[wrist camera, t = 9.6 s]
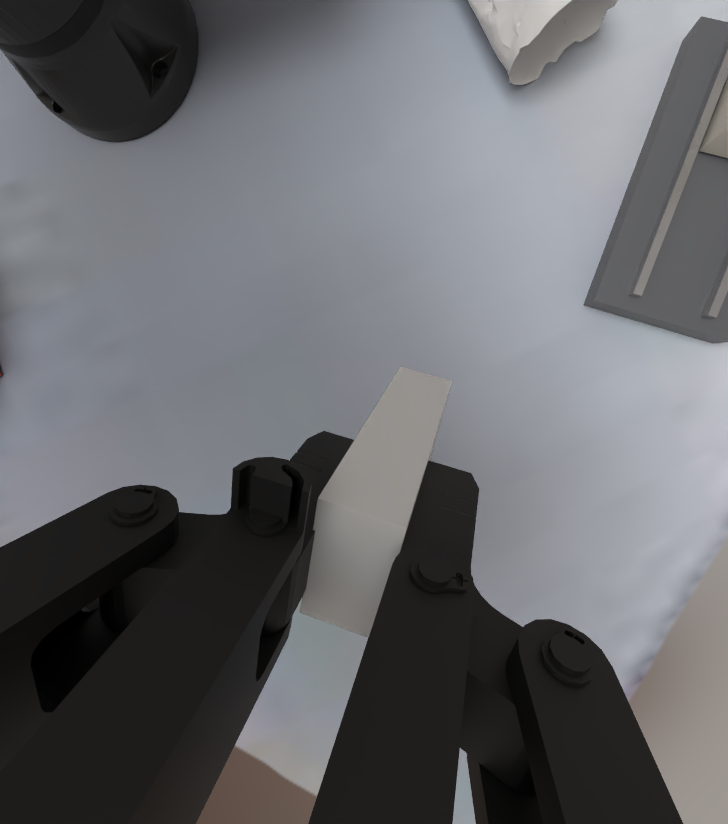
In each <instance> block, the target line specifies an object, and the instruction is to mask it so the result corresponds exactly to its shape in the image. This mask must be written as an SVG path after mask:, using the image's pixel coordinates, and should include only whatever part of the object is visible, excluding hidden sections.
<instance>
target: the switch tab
mask: <svg viewBox="0 0 728 824" xmlns="http://www.w3.org/2000/svg"><path fill="white" fill-rule="evenodd" d="M699 151H701V152H705V153H709V154H713V155H717V156H721V157H725V158H728V79H727V81H726V84H725V86H724V89H723V92H722V94H721V97H720V99H719V102H718V104H717V107H716V109H715V112H714V115H713V117H712V120H711V122H710V125H709V127H708V130H707V133H706V135H705V138H704V140H703V143H702V145H701V148H700V150H699Z"/></svg>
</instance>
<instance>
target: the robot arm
mask: <svg viewBox="0 0 728 824" xmlns="http://www.w3.org/2000/svg"><path fill="white" fill-rule="evenodd" d="M0 49H1V51H2V52H3V53H4V54H5V56H6V57H7V58H8V60H9V61H10V62H11V64H12V65H13V66H14V67H15V69H16V70H17V71H18V73H19V74H20V75H21V76H22V78H23V79H24V80H25V82H26V83H27V84H28V86H29V87H30V88H31V89H32V91H33V92H34V93H35V95H36V96H37V97H38V98H39V100H40V101H41V102H42V103H43V104H44V105H45V106H46V107H47V108H48V109H49V110H50V111H51V112H52V113H53V114H55V115H56V116H57V117H58V118H60V119H61V120H63V121H64V122H66V123H67V124H69V125H70V126H72V127H73V128H75V129H76V130H78V131H79V132H81V133H83V134H85V135H87V136H90V137H92V138H95V139H99V140H104V141H125V140H131V139H134V138H137V137H140V136H143V135H145V134H147V133H149V132H151V131H152V130H154V129H155V128H157V127H158V126H160V125H161V124H162V123H163V122H165V121H166V120H167V119H168V118H169V117H170V116H171V115H172V114H173V112H174V111H175V110H176V109H177V107H178V106H179V105H180V103H181V102H182V100H183V98H184V97H185V95H186V93H187V91H188V88H189V86H190V84H191V81H192V78H193V75H194V71H195V67H196V61H197V53H198V35H197V27H196V22H195V18H194V14H193V11H192V8H191V6H190V3H189V1H188V0H0ZM451 384H452V380H449V379H445V378H441V377H437V376H434V375H430V374H426V373H422V372H419V371H415V370H411V369H407V368H404V367H400V368H399V370H398V371H397V373H396V375H395V376H394V378H393V379H392V381H391V383H390V384H389V386H388V387H387V389H386V391H385V392H384V394H383V395H382V397H381V399H380V400H379V402H378V403H377V405H376V406H375V408H374V410H373V411H372V413H371V414H370V416H369V418H368V419H367V421H366V422H365V424H364V426H363V427H362V429H361V430H360V432H359V434H358V435H357V437H356V438H355V440H352V439H349V438H346V437H342V436H339V435H336V434H332V433H329V432H326V431H323V432H321V433H318V434H316V435H314V436H312V437H310V438H308V439H307V440H306V441H305V442H304V443H303V445H302V446H301V447H300V448H299V450H298V452H297V453H295V454H294V456H293V457H292V458H291V459H290V461H289V460H285V459H280V458H275V457H262V458H254V459H251V460H247V461H244V462H242V463H241V464H239V465H237V466H236V467H234V468H233V478H232V497H231V509H230V510H229V511H228V512H227V513H226V514H222V515H206V514H194V513H182V512H179V508H178V504H177V499H176V498H175V497H174V496H173V495H172V494H171V493H170V492H169V491H167V490H164V489H162V488H159V487H156V486H147V485H135V486H128V487H122V488H119V489H117V490H114V491H111V492H108V493H106V494H104V495H102V496H100V497H98V498H96V499H95V500H93V501H91V502H89V503H87V504H85V505H83V506H81V507H79V508H77V509H75V510H73V511H71V512H69V513H67V514H65V515H63V516H61V517H59V518H57V519H55V520H53V521H51V522H49V523H47V524H45V525H44V526H42V527H40V528H38V529H36V530H34V531H32V532H30V533H28V534H26V535H24V536H22V537H20V538H18V539H16V540H14V541H12V542H10V543H8V544H6V545H4V546H2V547H0V824H196V822H197V820H198V818H199V816H200V814H201V812H202V810H203V808H204V806H205V804H206V802H207V800H208V798H209V796H210V794H211V792H212V790H213V787H214V786H215V784H216V782H217V780H218V778H219V776H220V774H221V772H222V770H223V767H224V766H225V763H226V762H227V760H228V758H229V755H230V754H231V751H232V749H233V747H234V745H235V743H236V741H237V739H238V737H239V735H240V733H241V731H242V729H243V727H244V725H245V723H246V721H247V719H248V717H249V715H250V713H251V711H252V709H253V707H254V705H255V703H256V701H257V699H258V697H259V695H260V693H261V691H262V689H263V687H264V685H265V683H266V681H267V679H268V677H269V675H270V673H271V671H272V669H273V667H274V665H275V663H276V661H277V659H278V657H279V655H280V653H281V651H282V649H283V647H284V645H285V643H286V641H287V639H288V636H289V632H290V628H291V622H292V615H293V613H294V611H295V609H296V608H297V606H298V604H299V602H300V600H301V598H302V602H301V608H300V612H301V613H303V614H306V615H309V616H311V617H314V618H317V619H320V620H322V621H325V622H328V623H330V624H333V625H336V626H338V627H341V628H344V629H347V630H349V631H352V632H355V633H357V634H360V635H363V636H365V637H368V641H367V644H366V647H365V650H364V653H363V657H362V660H361V663H360V666H359V669H358V672H357V675H356V678H355V681H354V684H353V687H352V691H351V694H350V697H349V700H348V703H347V706H346V709H345V712H344V715H343V718H342V721H341V725H340V728H339V731H338V734H337V737H336V740H335V743H334V746H333V749H332V752H331V756H330V759H329V762H328V765H327V768H326V771H325V774H324V777H323V780H322V783H321V786H320V790H319V793H318V796H317V799H316V802H315V805H314V808H313V811H312V814H311V817H310V821H309V824H452V821H453V810H454V800H455V790H456V779H457V769H458V759H459V748H461V749H462V750H464V751H465V752H466V753H467V761H468V769H469V776H470V783H471V791H472V798H473V805H474V813H475V820H476V824H683V822H682V820H681V818H680V816H679V813H678V811H677V809H676V807H675V804H674V802H673V800H672V798H671V796H670V793H669V791H668V789H667V787H666V784H665V782H664V780H663V778H662V776H661V773H660V771H659V769H658V767H657V765H656V762H655V760H654V758H653V756H652V753H651V751H650V749H649V747H648V745H647V742H646V740H645V738H644V736H643V734H642V732H641V729H640V727H639V725H638V722H637V720H636V718H635V716H634V714H633V711H632V709H631V707H630V705H629V702H628V700H627V698H626V696H625V694H624V691H623V689H622V687H621V685H620V683H619V680H618V678H617V676H616V674H615V671H614V669H613V667H612V666H611V664H610V662H609V661H608V659H607V658H606V656H605V655H604V653H603V651H602V650H601V649H600V648H599V647H598V646H597V645H596V644H595V643H594V642H593V641H592V640H591V639H590V638H588V637H587V636H586V635H585V634H583V633H581V632H580V631H578V630H577V629H575V628H573V627H572V626H570V625H568V624H565V623H561V622H558V621H555V620H552V619H545V620H534V621H532V622H530V623H529V624H527V625H525V626H524V627H522V626H520V625H518V624H517V623H515V622H514V621H512V620H511V619H509V618H507V617H506V616H504V615H503V614H501V613H500V612H499V611H497V610H496V609H495V608H493V607H492V606H491V605H490V604H489V603H488V602H487V601H486V600H485V599H484V598H483V597H482V596H481V595H480V593H479V592H478V590H477V588H476V587H475V585H474V582H473V577H472V576H471V559H472V550H473V541H474V531H475V522H476V513H477V504H478V495H479V488H478V486H477V484H476V482H475V480H474V478H473V476H472V474H471V473H468V472H465V471H462V470H458V469H455V468H452V467H448V466H445V465H442V464H438V463H435V462H431V461H430V458H431V455H432V451H433V447H434V444H435V440H436V437H437V433H438V430H439V426H440V423H441V419H442V416H443V412H444V408H445V405H446V401H447V398H448V394H449V391H450V387H451Z"/></svg>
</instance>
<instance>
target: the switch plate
mask: <svg viewBox="0 0 728 824" xmlns="http://www.w3.org/2000/svg"><path fill="white" fill-rule="evenodd" d="M727 79H728V22H724V21H720V20H715V19H711V18H706V17H702V16H701V17H700V19H699V20H698V21H697V23H696V24H695V25H694V27H693V28H692V29H691V30H690V32H689V33H688V34H687V36H686V37H685V38H684V40H683V41H682V44H681V46H680V49H679V52H678V54H677V57H676V60H675V62H674V65H673V68H672V70H671V73H670V76H669V78H668V81H667V84H666V86H665V89H664V92H663V94H662V97H661V100H660V102H659V105H658V108H657V110H656V113H655V116H654V118H653V121H652V124H651V126H650V129H649V132H648V134H647V137H646V140H645V142H644V145H643V148H642V150H641V153H640V156H639V158H638V161H637V164H636V166H635V169H634V172H633V174H632V177H631V180H630V183H629V185H628V188H627V191H626V193H625V196H624V199H623V201H622V204H621V207H620V209H619V212H618V215H617V217H616V220H615V223H614V225H613V228H612V231H611V233H610V236H609V239H608V241H607V244H606V247H605V249H604V252H603V255H602V257H601V260H600V263H599V265H598V268H597V271H596V273H595V276H594V279H593V281H592V284H591V287H590V289H589V292H588V295H587V297H586V300H585V303H584V305H585V306H589V307H592V308H596V309H599V310H602V311H606V312H609V313H612V314H616V315H619V316H622V317H626V318H629V319H633V320H636V321H639V322H643V323H646V324H649V325H653V326H656V327H660V328H663V329H666V330H670V331H673V332H676V333H680V334H683V335H687V336H690V337H693V338H697V339H700V340H703V341H707V342H710V343H721V342H728V158H725V157H721V156H717V155H713V154H709V153H705V152H701V151H699V150H700V148H701V145H702V143H703V140H704V138H705V135H706V133H707V130H708V127H709V125H710V122H711V120H712V117H713V115H714V112H715V109H716V107H717V104H718V102H719V99H720V97H721V94H722V92H723V89H724V86H725V84H726V81H727Z"/></svg>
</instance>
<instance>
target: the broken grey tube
mask: <svg viewBox="0 0 728 824" xmlns="http://www.w3.org/2000/svg"><path fill="white" fill-rule="evenodd" d="M467 1H468V2H469V4H470V6H471V8H472V10H473V11H474V13H475V15H476V17H477V18H478V20H479V22H480V25H481V27H482V29H483V31H484V32H485V34H486V36H487V38H488V40H489V42H490V44H491V46H492V48H493V50H494V52H495V53H496V55H497V57H498V59H499V60H500V61H501V63H502V64H503V65H504V67H505V68H506V70H507V71H508V74H507V75H509V79H510V80H509V83H512V84H514V85H524V84H527V83H529V82H532V81H534V80H536V79H538V78H539V76H540V74H541V72H542V70H543V68H544V66H545V65H546V64H547V63H548V62H555V63H556V62H557V60H558V58H559V57H560V55H561V54H562V52H563V51H564V50H565V49H566V48H567V47H568V46H570V45H571V44H572V43H573V42H574V41H578V42H582V41H583V40H585V39H586V38H588V37H589V36H591V35H592V34H594V33H595V32H596V31H598V30H599V27H600V25H601V23H602V21H603V19H604V16H605V14H606V12H607V10H609V9H610V8H612V7H614V6H615V4H616V2H617V1H618V0H467Z"/></svg>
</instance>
